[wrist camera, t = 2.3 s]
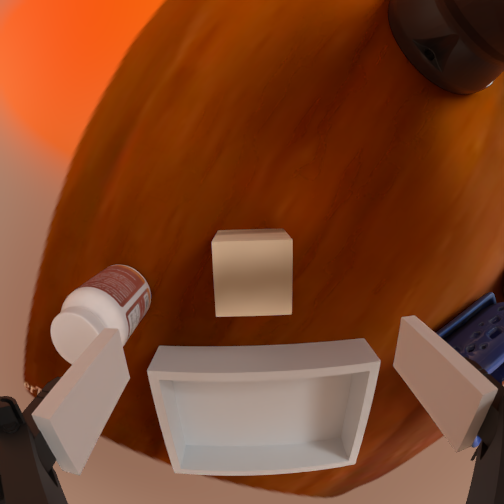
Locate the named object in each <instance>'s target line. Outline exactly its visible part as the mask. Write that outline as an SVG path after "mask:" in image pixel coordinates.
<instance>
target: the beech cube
mask: <svg viewBox="0 0 504 504" xmlns="http://www.w3.org/2000/svg"><path fill="white" fill-rule="evenodd" d="M212 260H213V278H214V295H215V310H216V317H230V316H266V315H290V314H292V271H293V239H292V238H291V237H290V236H289V235H288V234H287V232H286V231H285V230H284V229H242V230H218V231H217V233H216V235H215V237H214V238H213V240H212Z"/></svg>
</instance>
